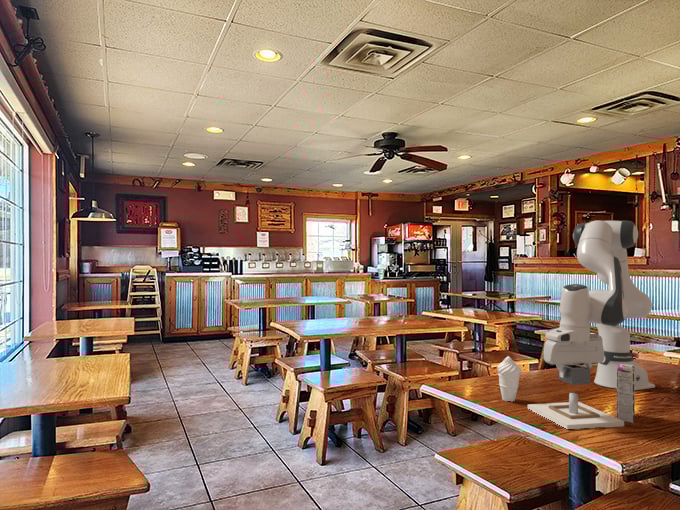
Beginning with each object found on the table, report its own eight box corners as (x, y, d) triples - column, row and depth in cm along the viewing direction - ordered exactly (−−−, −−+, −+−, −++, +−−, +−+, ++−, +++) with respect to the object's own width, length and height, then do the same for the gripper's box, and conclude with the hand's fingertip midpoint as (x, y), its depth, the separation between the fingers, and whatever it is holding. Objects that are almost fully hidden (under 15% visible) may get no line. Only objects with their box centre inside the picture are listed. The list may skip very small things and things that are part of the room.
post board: (578, 406, 165) (579, 384, 165) (624, 426, 145) (624, 401, 145) (527, 408, 160) (527, 386, 161) (567, 430, 141) (567, 404, 141)
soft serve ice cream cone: (503, 395, 176) (503, 352, 176) (525, 400, 170) (525, 356, 170) (492, 399, 170) (493, 355, 170) (514, 405, 164) (515, 359, 164)
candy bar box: (617, 411, 159) (617, 363, 159) (634, 414, 157) (635, 365, 157) (615, 420, 150) (616, 369, 150) (634, 424, 147) (635, 371, 147)
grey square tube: (575, 378, 157) (575, 363, 157) (590, 384, 150) (590, 368, 150) (558, 379, 155) (558, 364, 155) (572, 384, 149) (572, 369, 149)
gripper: (595, 332, 158) (594, 373, 158) (540, 333, 154) (540, 375, 154) (609, 335, 152) (608, 378, 152) (553, 336, 148) (552, 380, 148)
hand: (574, 376), depth 153 cm, fingers closed on grey square tube, 7 cm apart
